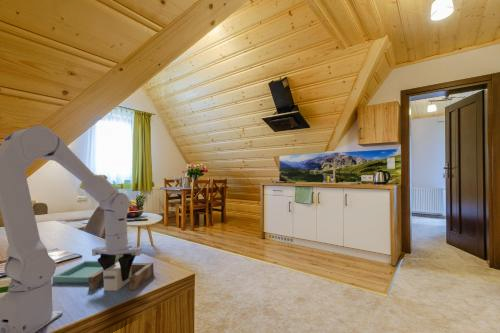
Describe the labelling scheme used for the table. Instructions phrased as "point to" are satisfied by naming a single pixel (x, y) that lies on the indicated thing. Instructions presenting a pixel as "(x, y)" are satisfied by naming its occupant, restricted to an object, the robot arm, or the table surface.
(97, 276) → the bay
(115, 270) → the cream rectangular block
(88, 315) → the table surface
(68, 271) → the tray
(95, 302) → the table surface
